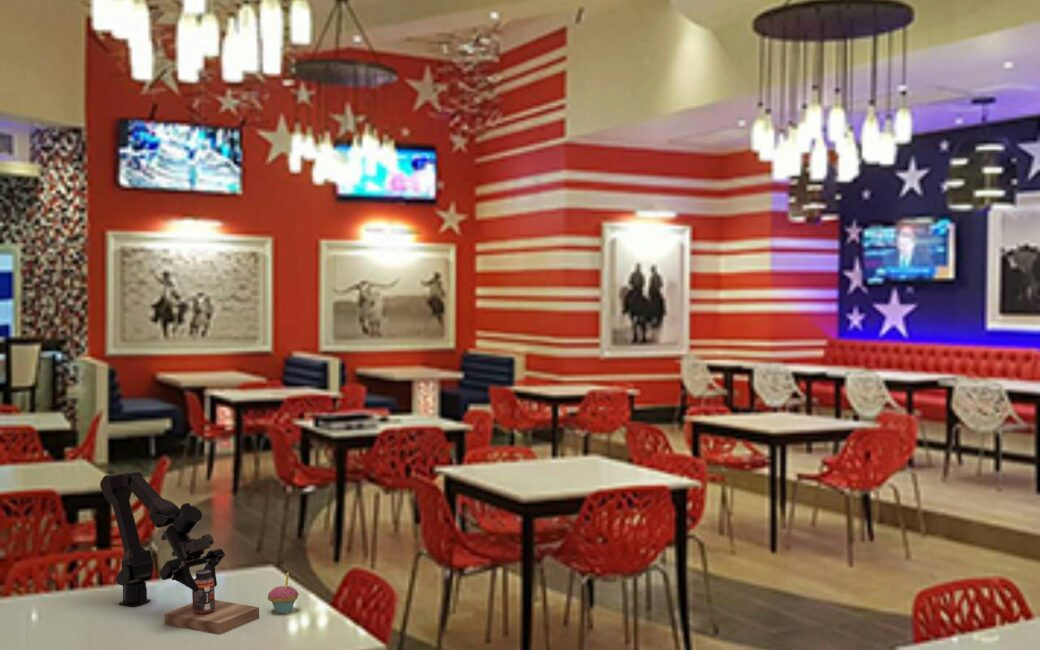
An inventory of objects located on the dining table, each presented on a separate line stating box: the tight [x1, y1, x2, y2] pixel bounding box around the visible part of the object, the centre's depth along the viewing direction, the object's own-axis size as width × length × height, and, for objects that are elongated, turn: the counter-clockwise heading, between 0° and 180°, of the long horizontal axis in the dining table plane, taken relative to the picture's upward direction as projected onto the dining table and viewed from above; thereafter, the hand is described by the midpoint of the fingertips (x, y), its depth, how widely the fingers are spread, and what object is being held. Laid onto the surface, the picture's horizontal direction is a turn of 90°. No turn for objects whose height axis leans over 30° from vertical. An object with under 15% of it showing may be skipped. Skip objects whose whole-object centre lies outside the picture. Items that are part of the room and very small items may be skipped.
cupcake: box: [267, 570, 299, 614], centre depth 309 cm, size 9×8×12 cm
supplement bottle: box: [191, 569, 216, 614], centre depth 299 cm, size 6×6×11 cm
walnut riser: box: [163, 599, 260, 635], centre depth 300 cm, size 20×16×3 cm
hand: (206, 588), depth 298 cm, fingers closed on supplement bottle, 6 cm apart
